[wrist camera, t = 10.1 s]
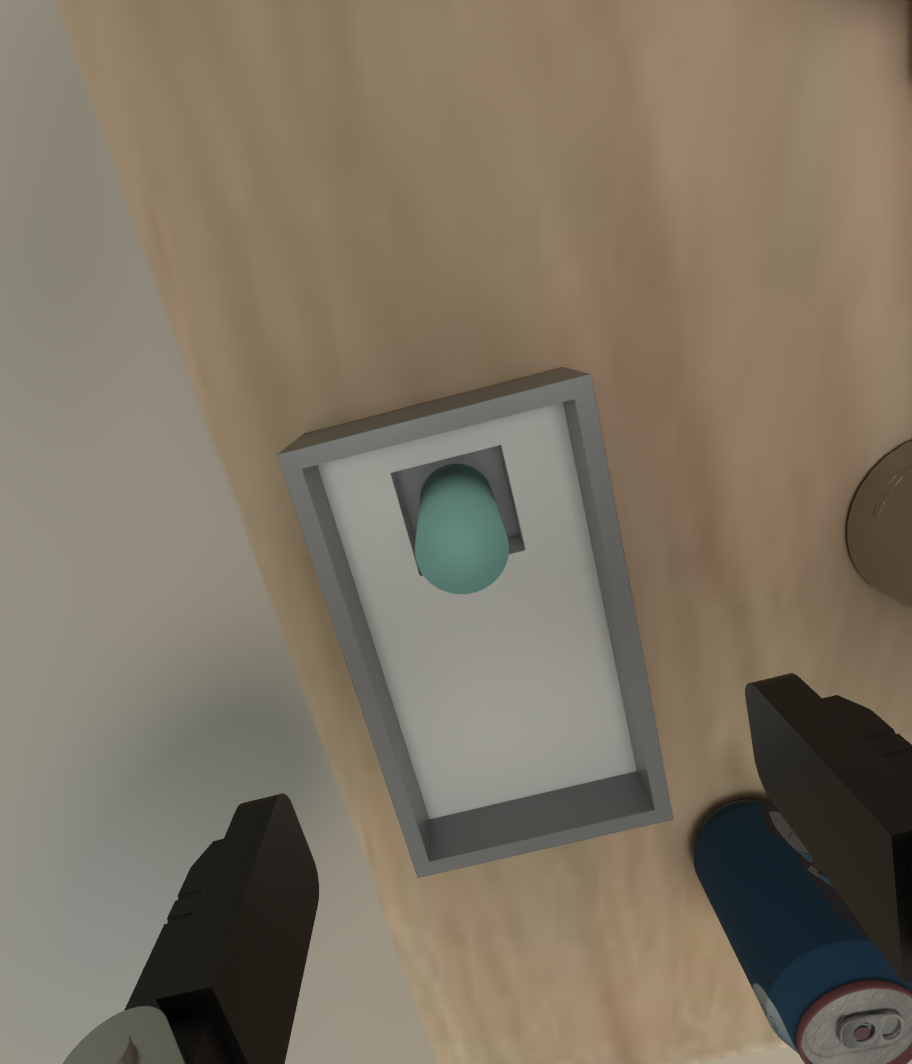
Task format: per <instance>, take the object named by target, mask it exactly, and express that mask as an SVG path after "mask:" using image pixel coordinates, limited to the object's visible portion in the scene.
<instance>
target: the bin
mask: <svg viewBox="0 0 912 1064" xmlns="http://www.w3.org/2000/svg"><path fill="white" fill-rule="evenodd" d="M277 457H278V460H279V463H280V466H281V469H282V472H283V475H284V478H285V481H286V484H287V487H288V490H289V493H290V496H291V499H292V502H293V505H294V508H295V511H296V514H297V517H298V520H299V523H300V526H301V529H302V532H303V535H304V538H305V541H306V544H307V547H308V550H309V553H310V556H311V559H312V562H313V565H314V568H315V571H316V574H317V577H318V580H319V583H320V586H321V589H322V592H323V595H324V598H325V601H326V604H327V607H328V610H329V613H330V616H331V619H332V622H333V625H334V628H335V631H336V634H337V637H338V640H339V643H340V646H341V649H342V652H343V655H344V658H345V661H346V664H347V667H348V670H349V673H350V676H351V679H352V682H353V685H354V688H355V691H356V694H357V697H358V700H359V703H360V706H361V709H362V712H363V715H364V718H365V721H366V724H367V727H368V730H369V733H370V736H371V739H372V742H373V745H374V748H375V751H376V754H377V757H378V760H379V763H380V766H381V769H382V772H383V775H384V778H385V781H386V784H387V787H388V790H389V793H390V796H391V799H392V802H393V805H394V808H395V811H396V814H397V817H398V820H399V823H400V826H401V829H402V832H403V835H404V838H405V841H406V844H407V847H408V850H409V853H410V856H411V859H412V862H413V865H414V868H415V871H416V874H417V877H418V878H420V877H424V876H428V875H433V874H437V873H442V872H446V871H450V870H455V869H459V868H463V867H468V866H472V865H476V864H481V863H485V862H490V861H494V860H498V859H503V858H507V857H511V856H516V855H520V854H524V853H529V852H533V851H538V850H542V849H546V848H551V847H555V846H559V845H564V844H568V843H572V842H577V841H581V840H586V839H590V838H594V837H599V836H603V835H607V834H612V833H616V832H620V831H625V830H629V829H633V828H638V827H642V826H647V825H651V824H655V823H660V822H664V821H668V820H673V815H672V809H671V804H670V799H669V793H668V788H667V782H666V777H665V772H664V766H663V761H662V756H661V750H660V745H659V739H658V734H657V729H656V723H655V718H654V713H653V707H652V702H651V696H650V691H649V686H648V680H647V675H646V670H645V664H644V659H643V653H642V648H641V643H640V637H639V632H638V626H637V621H636V616H635V610H634V605H633V600H632V594H631V589H630V583H629V578H628V573H627V567H626V562H625V557H624V551H623V546H622V540H621V535H620V530H619V524H618V519H617V514H616V508H615V503H614V497H613V492H612V487H611V481H610V476H609V470H608V465H607V460H606V454H605V449H604V444H603V438H602V433H601V427H600V422H599V417H598V411H597V406H596V401H595V395H594V390H593V384H592V379H591V374H588V373H584V372H580V371H576V370H572V369H568V368H564V367H561V368H557V369H553V370H549V371H545V372H542V373H538V374H534V375H530V376H526V377H522V378H518V379H514V380H511V381H507V382H503V383H499V384H495V385H491V386H487V387H483V388H480V389H476V390H472V391H468V392H464V393H460V394H456V395H452V396H449V397H445V398H441V399H437V400H433V401H429V402H425V403H421V404H418V405H414V406H410V407H406V408H402V409H398V410H394V411H391V412H387V413H383V414H379V415H375V416H371V417H367V418H363V419H360V420H356V421H352V422H348V423H344V424H340V425H336V426H332V427H329V428H325V429H321V430H317V431H313V432H309V433H305V434H303V435H302V436H301V437H299V438H298V439H297V440H296V441H294V442H293V443H292V444H290V445H289V446H288V447H286V448H285V449H284V450H283V451H281V452H280V453H279V454H277ZM448 464H465V465H468V466H471V467H473V468H475V469H477V470H478V471H479V472H481V473H482V474H483V475H484V477H485V478H486V479H487V481H488V483H489V485H490V487H491V490H492V493H493V496H494V499H495V502H496V505H497V508H498V511H499V514H500V517H501V520H502V523H503V526H504V528H505V531H506V534H507V538H508V542H509V556H508V560H507V563H506V566H505V568H504V570H503V572H502V573H501V575H500V576H499V577H498V578H497V580H496V581H494V582H493V583H492V584H491V585H489V586H488V587H486V588H485V589H483V590H480V591H478V592H475V593H471V594H452V593H448V592H445V591H442V590H440V589H438V588H436V587H435V586H433V585H432V584H431V583H430V582H429V581H428V580H426V578H425V577H424V576H423V575H422V573H421V571H420V570H419V567H418V565H417V562H416V558H415V541H416V532H417V522H418V513H419V503H420V495H421V490H422V487H423V484H424V482H425V481H426V479H427V478H428V477H429V475H430V474H431V473H432V472H434V471H435V470H436V469H438V468H440V467H442V466H445V465H448Z"/></svg>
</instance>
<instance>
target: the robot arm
mask: <svg viewBox="0 0 912 1064" xmlns="http://www.w3.org/2000/svg"><path fill="white" fill-rule="evenodd" d="M847 542H848V547H849V552H850V557H851V559H852V561H853V563H854V565H855V567H856V569H857V571H858V572H859V573H860V574H861V576H862V577H863V578H864V579H865V580H866V581H867V583H869V584H870V585H872V586H873V587H875V588H876V589H877V590H879V591H880V592H882V593H884V594H885V595H887V596H889V597H891V598H892V599H894V600H896V601H898V602H899V603H901V604H903V605H905V606H906V607H908V608H910V609H912V441H909V442H907V443H905V444H903V445H902V446H900V447H899V448H897V449H896V450H894V451H893V452H891V453H890V454H889V455H887V456H886V457H885V458H884V459H883V460H882V461H881V462H880V463H879V464H878V465H877V466H876V467H875V468H874V469H873V470H872V471H871V472H870V474H869V475H868V476H867V478H866V479H865V481H864V482H863V483H862V485H861V486H860V488H859V490H858V492H857V495H856V497H855V499H854V501H853V503H852V506H851V510H850V514H849V518H848V523H847ZM745 696H746V703H747V710H748V717H749V724H750V731H751V737H752V744H753V751H754V758H755V763H756V767H757V771H758V774H759V777H760V779H761V782H762V784H763V787H764V789H765V791H766V793H767V795H768V796H769V798H770V800H771V801H772V802H773V804H774V805H775V807H776V808H777V809H778V811H779V812H780V814H781V815H782V816H783V818H784V819H785V820H786V822H787V823H788V825H789V826H790V827H791V829H792V830H793V832H794V833H795V834H796V836H797V837H798V838H799V840H800V841H801V843H802V844H803V845H804V847H805V848H806V849H807V851H808V852H809V854H810V855H811V856H812V858H813V859H814V861H815V862H816V863H817V865H818V866H819V867H820V869H821V870H822V872H823V873H824V874H825V876H826V877H827V878H828V880H829V881H830V883H831V884H832V885H833V887H834V888H835V890H836V891H837V892H838V894H839V895H840V896H841V898H842V899H843V901H844V902H845V903H846V905H847V906H848V908H849V909H850V910H851V912H852V913H853V914H854V916H855V917H856V919H857V920H858V921H859V923H860V924H861V925H862V927H863V928H864V930H865V931H866V932H867V934H868V935H869V937H870V938H871V939H872V941H873V942H874V943H875V945H876V946H877V948H878V949H879V950H880V952H881V953H882V955H883V956H884V957H885V959H886V960H887V961H888V963H889V964H890V966H891V967H892V968H893V970H894V971H895V972H896V974H897V975H898V977H899V978H900V979H901V981H902V982H903V983H906V982H910V981H912V745H911V744H910V743H909V742H908V741H906V740H905V739H904V738H903V737H902V736H901V735H899V734H895V732H894V729H892V728H891V727H890V726H889V725H888V724H887V723H885V722H884V721H883V720H882V719H881V718H880V717H878V716H877V715H876V714H875V713H874V712H873V711H871V710H870V709H868V708H866V707H863V706H861V705H859V704H857V703H854V702H852V701H850V700H847V699H845V698H843V697H840V696H838V695H835V696H831V697H827V698H823V699H822V698H821V697H820V696H819V695H818V694H817V693H816V692H814V691H813V690H812V689H811V688H810V687H809V686H808V685H807V684H806V683H805V682H804V681H803V680H802V679H801V678H799V677H798V676H797V675H795V674H793V673H790V674H786V675H782V676H778V677H773V678H769V679H765V680H761V681H757V682H752V683H748V684H747V685H746V689H745ZM318 900H319V882H318V874H317V869H316V865H315V862H314V860H313V857H312V854H311V852H310V849H309V846H308V844H307V841H306V839H305V836H304V834H303V831H302V828H301V826H300V823H299V821H298V818H297V816H296V813H295V811H294V808H293V806H292V803H291V801H290V799H289V798H288V796H287V795H285V794H279V795H274V796H271V797H266V798H262V799H258V800H253V801H249V802H245V803H241V804H240V805H239V806H238V807H237V809H236V812H235V814H234V816H233V818H232V821H231V823H230V826H229V828H228V830H227V833H226V835H225V837H224V839H221V840H217V841H213V842H212V844H211V845H210V846H209V847H208V848H207V849H206V851H205V852H204V853H203V854H202V855H201V856H200V858H199V859H198V860H197V861H196V862H195V863H194V864H193V866H192V867H191V868H190V870H189V872H188V875H187V877H186V879H185V881H184V883H183V885H182V888H181V890H180V892H179V894H178V900H177V901H175V903H174V905H173V907H172V909H171V911H170V913H169V915H168V918H167V919H168V923H167V924H164V926H163V928H162V930H161V933H160V935H159V937H158V939H157V941H156V944H155V946H154V948H153V950H152V952H151V954H150V957H149V959H148V961H147V963H146V965H145V967H144V969H143V971H142V974H141V976H140V978H139V980H138V982H137V985H136V987H135V989H134V991H133V993H132V995H131V997H130V999H129V1002H128V1004H127V1006H126V1008H125V1010H124V1011H123V1012H120V1013H118V1014H116V1015H115V1016H113V1017H111V1018H109V1019H107V1020H106V1021H105V1022H103V1023H102V1024H100V1025H99V1026H97V1027H96V1028H95V1029H94V1030H93V1031H91V1032H90V1033H89V1034H88V1035H87V1036H86V1037H85V1038H84V1039H83V1040H82V1041H81V1042H80V1043H79V1044H78V1045H77V1046H76V1047H75V1048H74V1049H73V1051H72V1052H71V1053H70V1054H69V1056H68V1057H67V1058H66V1060H65V1061H64V1063H63V1064H285V1059H286V1054H287V1049H288V1045H289V1040H290V1035H291V1030H292V1025H293V1021H294V1015H295V1011H296V1006H297V1001H298V997H299V992H300V987H301V982H302V978H303V973H304V968H305V964H306V959H307V954H308V949H309V944H310V940H311V935H312V930H313V925H314V920H315V916H316V911H317V906H318Z"/></svg>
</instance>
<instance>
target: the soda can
mask: <svg viewBox="0 0 912 1064" xmlns="http://www.w3.org/2000/svg"><path fill="white" fill-rule="evenodd" d="M694 866H695V871H696V874H697V876H698V878H699V880H700V882H701V885H702V887H703V889H704V891H705V893H706V895H707V897H708V899H709V901H710V903H711V905H712V907H713V909H714V911H715V913H716V915H717V917H718V919H719V921H720V923H721V925H722V927H723V929H724V931H725V933H726V936H727V938H728V940H729V942H730V944H731V946H732V948H733V950H734V952H735V954H736V956H737V958H738V960H739V962H740V964H741V966H742V968H743V970H744V972H745V974H746V976H747V978H748V980H749V982H750V984H751V987H752V989H753V991H754V993H755V995H756V997H757V999H758V1001H759V1003H760V1005H761V1007H762V1009H763V1011H764V1013H765V1015H766V1017H767V1019H768V1021H769V1023H770V1025H771V1027H772V1029H773V1030H774V1032H775V1033H776V1034H777V1035H778V1036H779V1037H780V1038H781V1039H782V1040H783V1041H784V1042H785V1043H786V1044H788V1045H789V1046H790V1047H791V1048H792V1049H793V1050H795V1051H796V1052H797V1053H798V1054H799V1055H800V1057H801V1058H802V1060H803V1062H804V1063H805V1064H907V1063H908V1062H909V1061H910V1060H911V1059H912V981H910V982H906V983H903V982H902V981H901V979H900V978H899V977H898V975H897V974H896V972H895V971H894V970H893V968H892V967H891V966H890V964H889V963H888V961H887V960H886V959H885V957H884V956H883V955H882V953H881V952H880V950H879V949H878V948H877V946H876V945H875V943H874V942H873V941H872V939H871V938H870V937H869V935H868V934H867V932H866V931H865V930H864V928H863V927H862V925H861V924H860V923H859V921H858V920H857V919H856V917H855V916H854V914H853V913H852V912H851V910H850V909H849V908H848V906H847V905H846V903H845V902H844V901H843V899H842V898H841V896H840V895H839V894H838V892H837V891H836V890H835V888H834V887H833V885H832V884H831V883H830V881H829V880H828V878H827V877H826V876H825V874H824V873H823V872H822V870H821V869H820V867H819V866H818V865H817V863H816V862H815V861H814V859H813V858H812V856H811V855H810V854H809V852H808V851H807V849H806V848H805V847H804V845H803V844H802V843H801V841H800V840H799V838H798V837H797V836H796V834H795V833H794V832H793V830H792V829H791V827H790V826H789V825H788V823H787V822H786V820H785V819H784V818H783V816H782V815H781V814H780V812H779V811H778V809H777V808H776V807H775V805H773V804H770V803H767V802H763V801H759V800H752V799H745V800H738V801H734V802H731V803H728V804H726V805H723V806H722V807H720V808H718V809H717V810H715V811H714V812H713V813H712V814H710V815H709V816H708V818H707V819H706V820H705V821H704V823H703V824H702V826H701V828H700V830H699V833H698V837H697V841H696V845H695V850H694Z"/></svg>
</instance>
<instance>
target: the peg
mask: <svg viewBox="0 0 912 1064" xmlns="http://www.w3.org/2000/svg"><path fill="white" fill-rule="evenodd" d="M508 556H509V542H508V538H507V534H506V531H505V528H504V526H503V523H502V520H501V517H500V514H499V511H498V508H497V505H496V502H495V499H494V496H493V493H492V490H491V487H490V485H489V483H488V481H487V479H486V478H485V477H484V475H483V474H482V473H481V472H479V471H478V470H477V469H475V468H473V467H471V466H468V465H465V464H448V465H445V466H442V467H440V468H438V469H436V470H435V471H434V472H432V473H431V474H430V475H429V477H428V478H427V479H426V481H425V482H424V484H423V487H422V490H421V495H420V503H419V513H418V522H417V532H416V541H415V558H416V562H417V565H418V567H419V570H420V571H421V573H422V575H423V576H424V577H425V578H426V580H428V581H429V582H430V583H431V584H432V585H433V586H435V587H436V588H438V589H440V590H442V591H445V592H448V593H452V594H471V593H475V592H478V591H480V590H483V589H485V588H486V587H488V586H489V585H491V584H492V583H493V582H494V581H496V580H497V578H498V577H499V576H500V575H501V573H502V572H503V570H504V568H505V566H506V563H507V560H508Z"/></svg>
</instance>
